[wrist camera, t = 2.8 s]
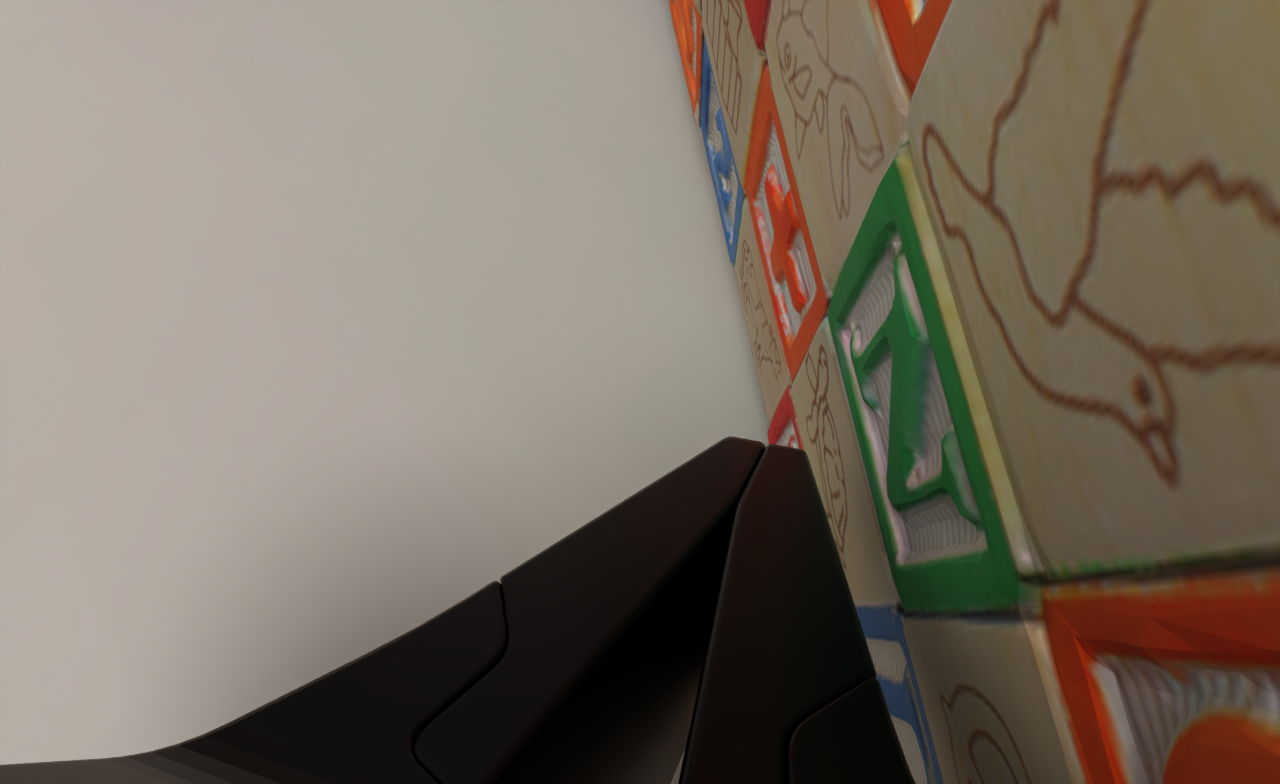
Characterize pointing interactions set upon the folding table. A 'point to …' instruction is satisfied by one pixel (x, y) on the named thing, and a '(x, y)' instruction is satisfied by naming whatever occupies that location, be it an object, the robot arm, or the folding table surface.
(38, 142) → the folding table surface
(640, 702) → the robot arm
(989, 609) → the stack of blocks
